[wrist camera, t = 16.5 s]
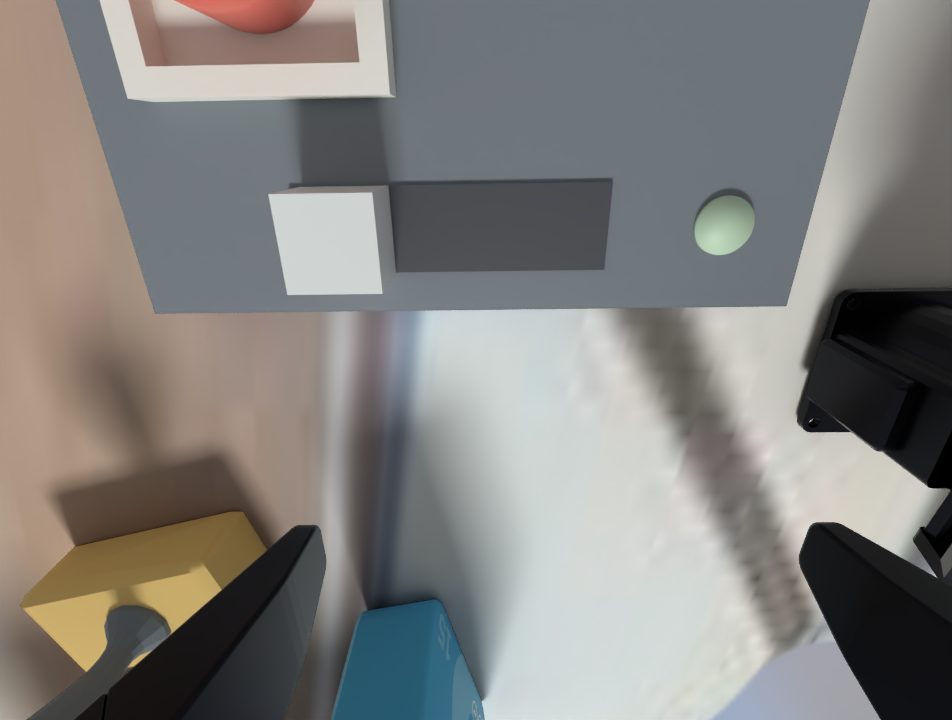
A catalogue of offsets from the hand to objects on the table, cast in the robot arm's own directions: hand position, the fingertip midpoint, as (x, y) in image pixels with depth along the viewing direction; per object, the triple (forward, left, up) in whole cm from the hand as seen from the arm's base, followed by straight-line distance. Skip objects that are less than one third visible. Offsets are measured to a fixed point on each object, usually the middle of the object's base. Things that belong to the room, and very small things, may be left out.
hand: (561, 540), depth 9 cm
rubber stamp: (+18, +14, -12) cm, 26 cm away
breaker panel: (+2, -9, -12) cm, 15 cm away
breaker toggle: (+6, -4, -10) cm, 13 cm away
